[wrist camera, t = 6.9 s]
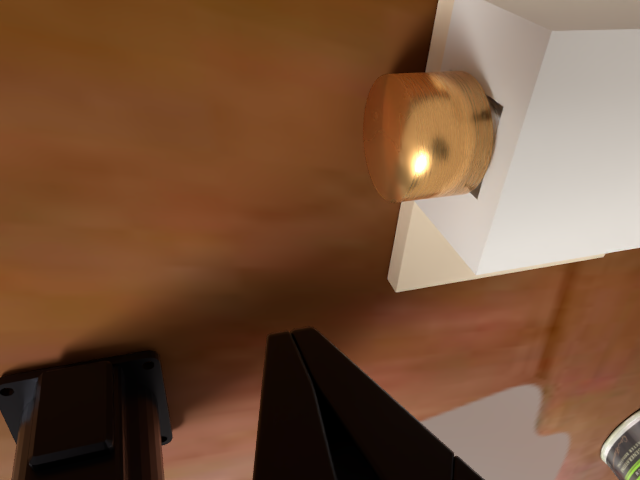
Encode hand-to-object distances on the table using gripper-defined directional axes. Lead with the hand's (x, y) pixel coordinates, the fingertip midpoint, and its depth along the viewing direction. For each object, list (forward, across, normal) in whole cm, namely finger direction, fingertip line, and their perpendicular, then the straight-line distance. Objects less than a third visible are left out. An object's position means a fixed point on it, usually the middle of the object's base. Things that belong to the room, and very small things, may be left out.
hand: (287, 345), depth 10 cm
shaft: (+10, -12, 0) cm, 16 cm away
